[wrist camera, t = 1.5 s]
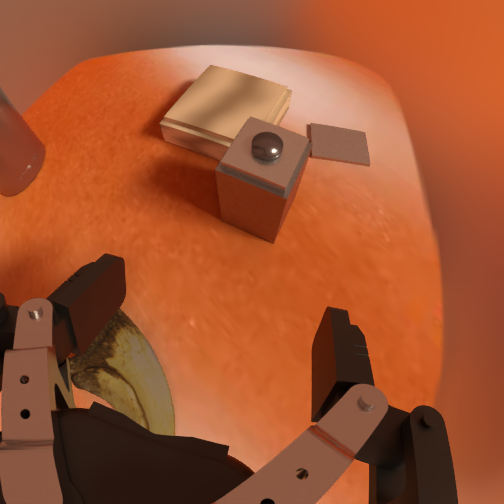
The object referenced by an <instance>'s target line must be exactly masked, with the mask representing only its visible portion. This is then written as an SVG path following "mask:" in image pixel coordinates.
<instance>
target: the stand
mask: <svg viewBox="0 0 504 504" xmlns="http://www.w3.org/2000/svg"><path fill="white" fill-rule="evenodd" d="M291 92H292V91H291V90H288V89H287V87H286V86H283V85H280V84H277V83H274V82H271V81H268V80H265V79H261V78H258V77H255V76H251V75H248V74H244V73H241V72H237V71H233V70H229V69H225V68H221V67H217V66H213V65H210V66H209V67H208V68H207V69H206V70H205V71H204V72H203V73H202V74H201V75H200V76H199V77H198V79H197V80H196V81H195V82H194V83H193V84H192V85H191V86H190V87H189V88H188V89H187V90H186V92H185V93H184V94H183V95H182V96H181V97H180V98H179V100H178V101H177V102H176V103H175V104H174V105H173V106H172V108H171V109H170V110H169V111H168V112H167V114H166V115H165V116H164V118H163V119H162V121H161V122H160V123H159V124H160V128H161V131H162V134H163V137H164V140H165V141H166V142H169V143H172V144H175V145H178V146H181V147H184V148H187V149H189V150H192V151H195V152H198V153H200V154H203V155H206V156H209V157H211V158H214V159H217V160H219V161H221V159H222V157H223V156H224V154H225V153H226V151H227V150H228V148H229V147H230V145H231V143H232V142H233V140H234V139H235V137H236V136H237V134H238V133H239V131H240V130H241V128H242V127H243V125H244V124H245V122H246V121H247V119H249V118H250V116H251V117H254V118H257V119H260V120H263V121H265V122H268V123H271V124H274V125H276V126H278V125H279V124H280V122H281V120H282V119H283V117H284V115H285V114H286V112H287V110H288V108H289V103H290V98H291Z"/></svg>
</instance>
